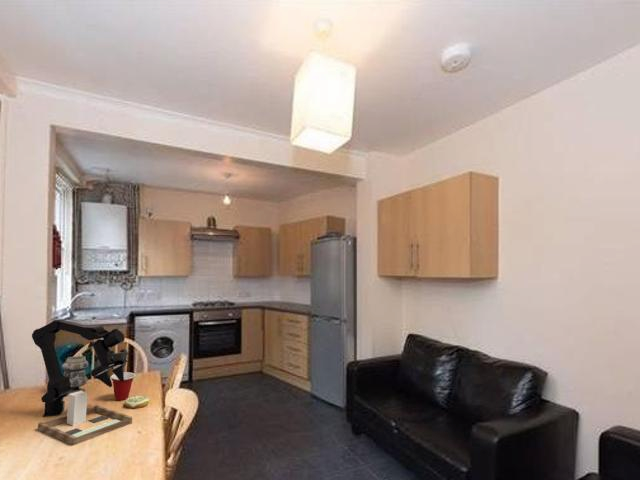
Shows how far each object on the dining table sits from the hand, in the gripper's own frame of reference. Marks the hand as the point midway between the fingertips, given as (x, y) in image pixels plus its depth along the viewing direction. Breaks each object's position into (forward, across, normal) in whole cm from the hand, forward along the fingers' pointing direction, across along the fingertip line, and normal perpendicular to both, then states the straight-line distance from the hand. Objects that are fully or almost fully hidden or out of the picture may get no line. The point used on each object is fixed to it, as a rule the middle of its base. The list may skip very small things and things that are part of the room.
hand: (117, 384), depth 164 cm
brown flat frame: (+10, -9, +13) cm, 19 cm away
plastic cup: (+7, +23, +15) cm, 28 cm away
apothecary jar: (-8, +31, +41) cm, 52 cm away
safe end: (+13, -12, +8) cm, 19 cm away
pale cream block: (+6, -6, +19) cm, 20 cm away
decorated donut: (+13, +16, +5) cm, 21 cm away
